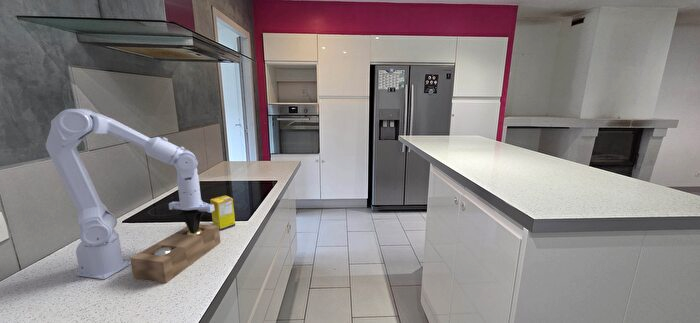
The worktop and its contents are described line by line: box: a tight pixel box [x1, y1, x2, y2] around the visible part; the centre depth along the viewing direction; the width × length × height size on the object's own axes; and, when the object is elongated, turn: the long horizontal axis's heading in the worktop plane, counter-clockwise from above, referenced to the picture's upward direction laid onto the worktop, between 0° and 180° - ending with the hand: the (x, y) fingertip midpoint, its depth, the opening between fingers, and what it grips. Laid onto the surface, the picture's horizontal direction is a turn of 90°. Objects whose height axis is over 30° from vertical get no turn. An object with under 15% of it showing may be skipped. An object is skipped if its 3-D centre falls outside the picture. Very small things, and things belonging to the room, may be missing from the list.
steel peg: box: [154, 247, 171, 256], centre depth 78 cm, size 4×4×6 cm
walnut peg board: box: [129, 223, 221, 284], centre depth 84 cm, size 10×22×6 cm, turn 169°
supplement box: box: [210, 195, 236, 232], centre depth 106 cm, size 6×6×11 cm
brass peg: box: [187, 229, 202, 235], centre depth 90 cm, size 4×4×6 cm
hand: (194, 231), depth 89 cm, fingers closed, pressing on brass peg
